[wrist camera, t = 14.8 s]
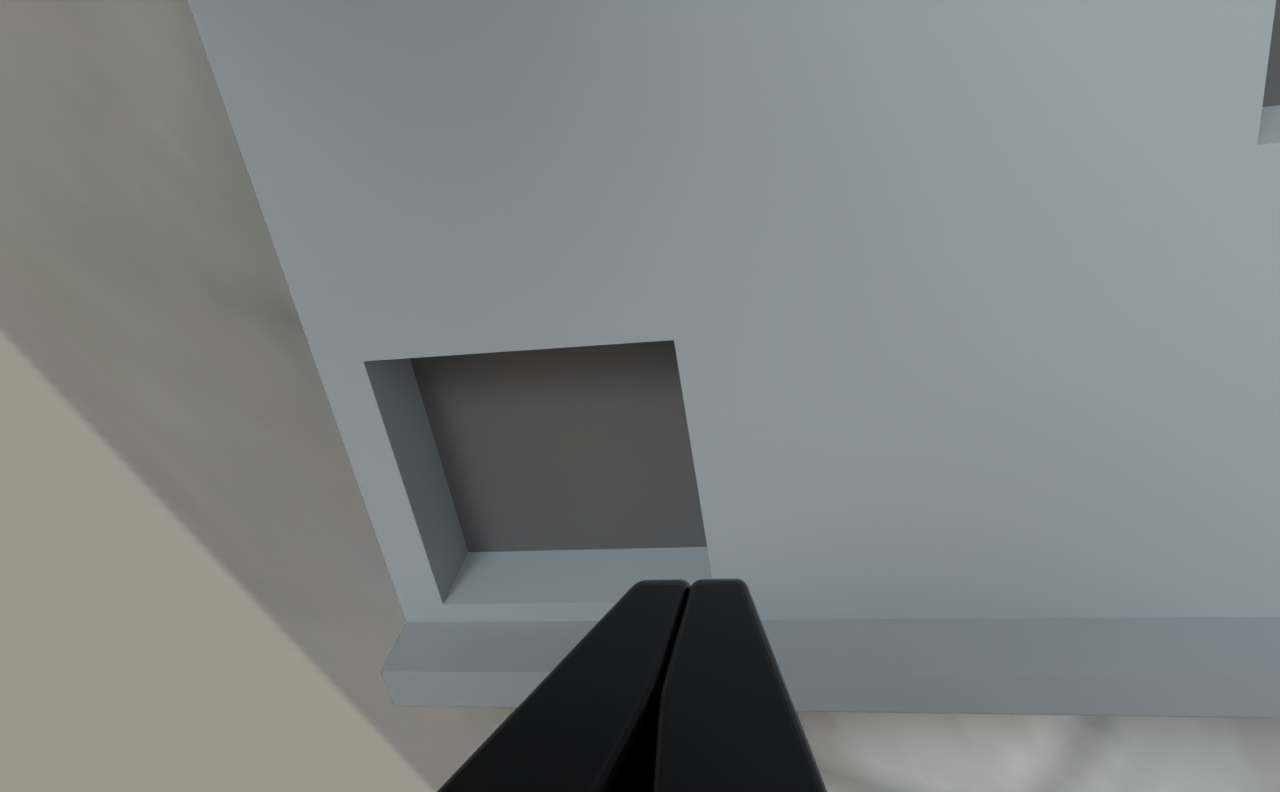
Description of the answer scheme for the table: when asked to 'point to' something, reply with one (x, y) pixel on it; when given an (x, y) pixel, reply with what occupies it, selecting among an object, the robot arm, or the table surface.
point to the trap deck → (797, 330)
